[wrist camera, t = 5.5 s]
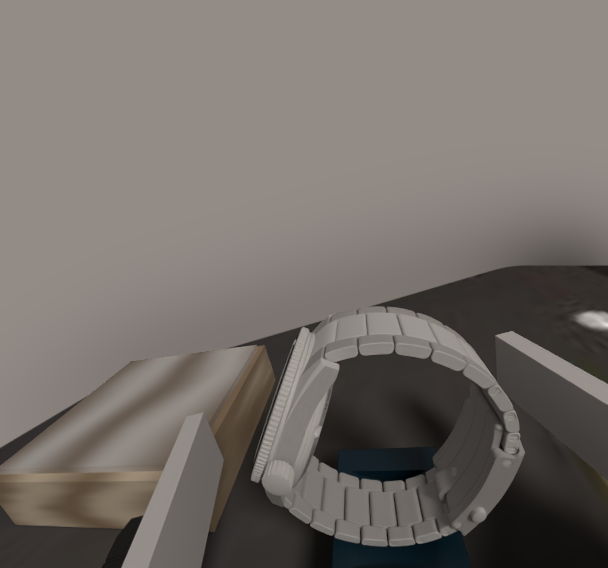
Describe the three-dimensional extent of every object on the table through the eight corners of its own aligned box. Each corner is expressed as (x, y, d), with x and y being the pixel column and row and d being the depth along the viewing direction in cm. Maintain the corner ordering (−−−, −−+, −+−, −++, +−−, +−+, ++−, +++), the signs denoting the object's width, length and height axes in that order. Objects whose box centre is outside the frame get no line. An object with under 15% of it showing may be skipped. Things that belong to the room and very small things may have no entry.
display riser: (15, 524, 18) (-21, 477, 17) (146, 392, 29) (130, 359, 28) (214, 531, 14) (186, 474, 13) (275, 379, 26) (263, 341, 24)
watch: (313, 496, 15) (254, 307, 12) (482, 496, 13) (464, 272, 10) (292, 664, 10) (174, 406, 7) (566, 704, 8) (586, 372, 5)
